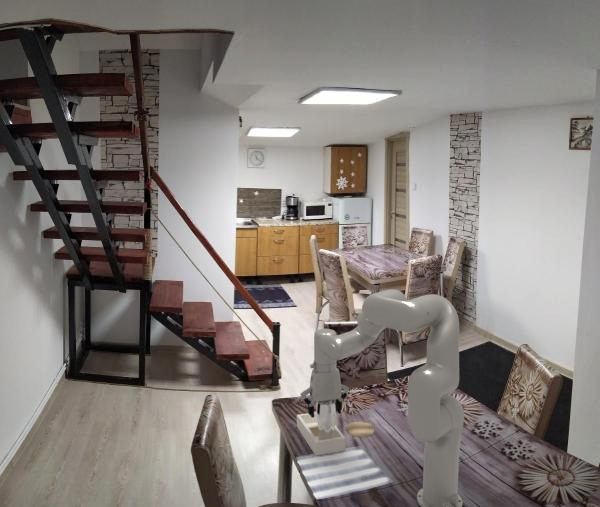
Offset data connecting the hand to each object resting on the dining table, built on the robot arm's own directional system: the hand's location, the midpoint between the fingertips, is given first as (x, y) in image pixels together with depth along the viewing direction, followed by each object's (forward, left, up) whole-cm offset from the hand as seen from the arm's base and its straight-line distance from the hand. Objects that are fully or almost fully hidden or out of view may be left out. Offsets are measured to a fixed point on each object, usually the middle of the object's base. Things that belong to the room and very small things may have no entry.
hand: (325, 413), depth 184 cm
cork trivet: (+6, -16, -12) cm, 21 cm away
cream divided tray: (+5, 0, -12) cm, 13 cm away
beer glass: (0, 0, -10) cm, 11 cm away
